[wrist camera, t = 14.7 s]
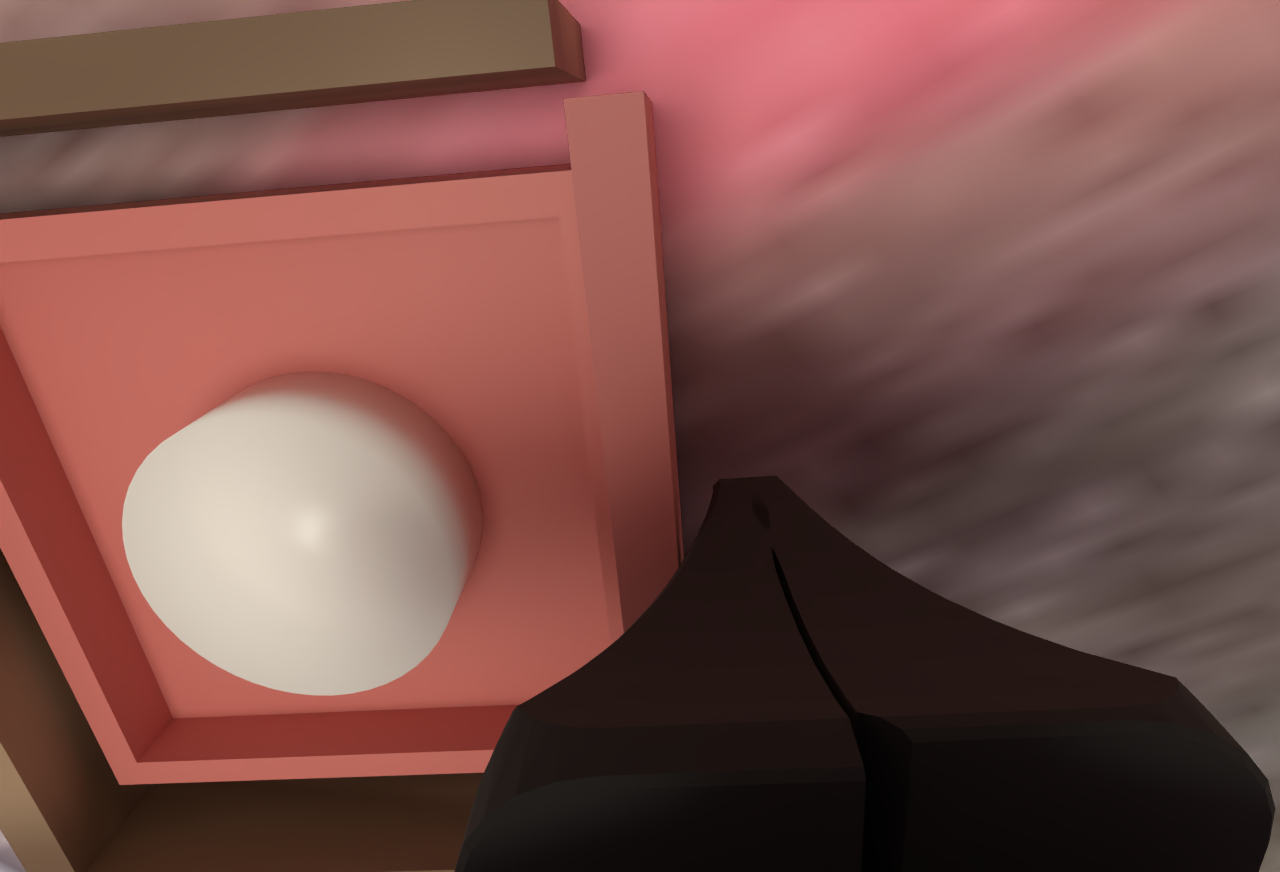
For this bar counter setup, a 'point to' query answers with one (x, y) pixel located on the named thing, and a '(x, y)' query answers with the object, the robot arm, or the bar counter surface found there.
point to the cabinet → (3, 621)
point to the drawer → (380, 353)
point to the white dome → (306, 533)
